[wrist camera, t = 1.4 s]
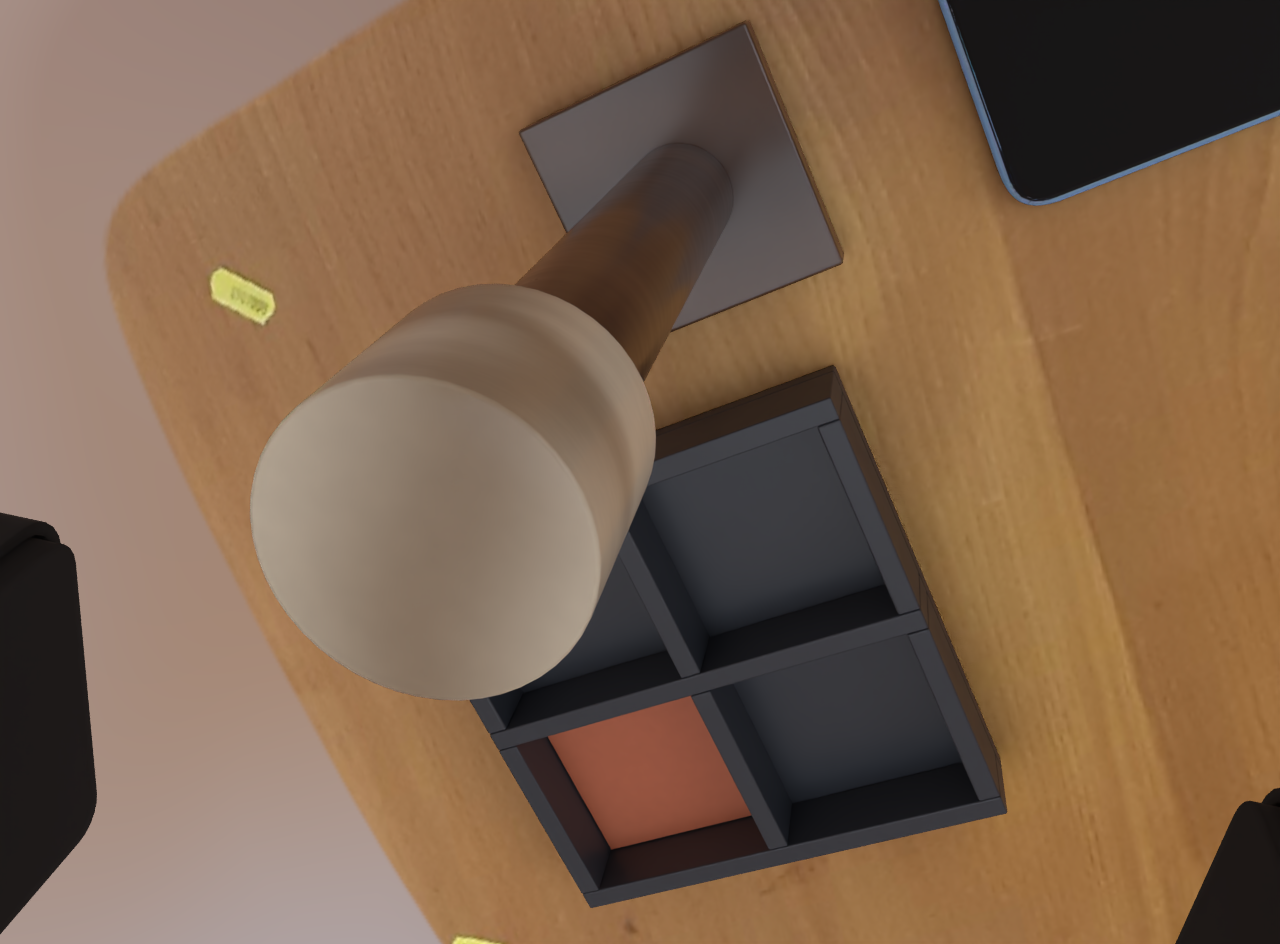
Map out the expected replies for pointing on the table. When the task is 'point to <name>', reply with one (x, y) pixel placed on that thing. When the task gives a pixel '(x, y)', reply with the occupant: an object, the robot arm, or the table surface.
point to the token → (457, 493)
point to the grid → (751, 667)
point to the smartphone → (1111, 82)
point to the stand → (678, 195)
